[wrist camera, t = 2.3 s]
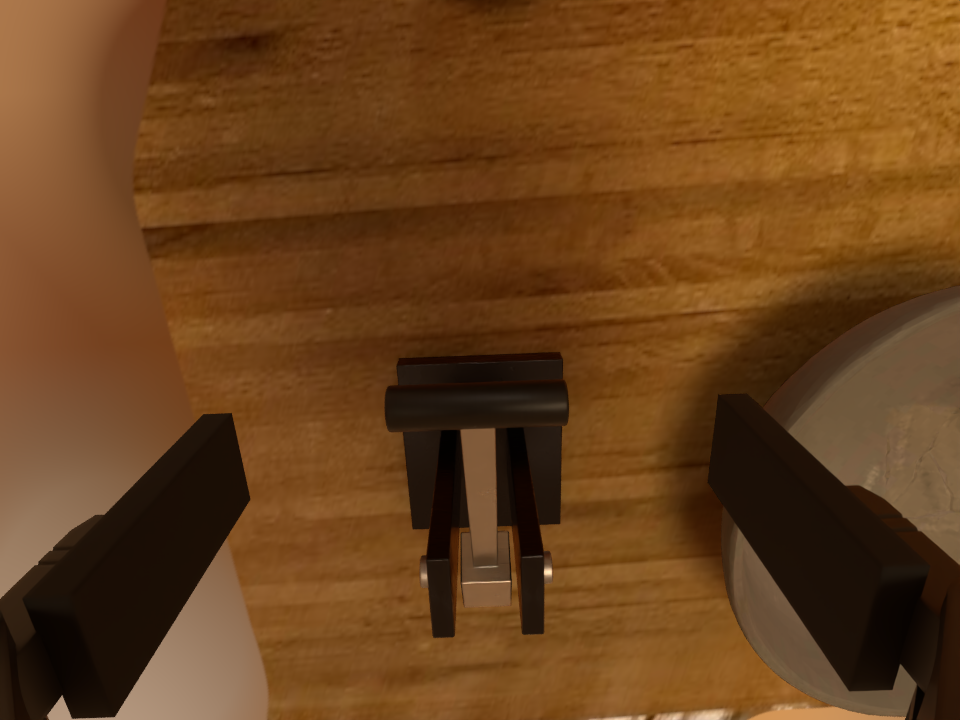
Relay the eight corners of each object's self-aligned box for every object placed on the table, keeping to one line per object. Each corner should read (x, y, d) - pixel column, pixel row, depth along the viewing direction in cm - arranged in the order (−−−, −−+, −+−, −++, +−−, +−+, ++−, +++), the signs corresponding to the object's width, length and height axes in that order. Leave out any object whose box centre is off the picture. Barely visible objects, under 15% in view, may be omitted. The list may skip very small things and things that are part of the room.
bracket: (398, 358, 35) (355, 485, 23) (560, 352, 35) (608, 475, 22) (414, 518, 40) (385, 701, 27) (557, 513, 40) (597, 693, 27)
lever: (388, 365, 18) (380, 426, 16) (562, 358, 18) (572, 418, 16) (430, 559, 28) (428, 609, 27) (541, 555, 28) (546, 605, 27)
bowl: (756, 197, 32) (870, 223, 23) (1171, 289, 34) (1432, 347, 25) (620, 564, 41) (662, 689, 32) (953, 619, 43) (1083, 751, 34)
